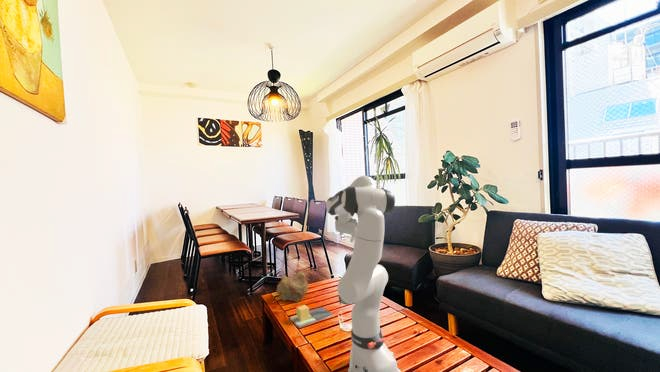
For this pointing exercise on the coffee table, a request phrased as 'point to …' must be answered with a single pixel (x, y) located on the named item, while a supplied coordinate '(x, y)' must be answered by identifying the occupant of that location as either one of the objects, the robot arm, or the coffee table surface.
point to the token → (302, 313)
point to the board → (313, 317)
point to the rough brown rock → (293, 287)
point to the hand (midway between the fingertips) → (347, 240)
